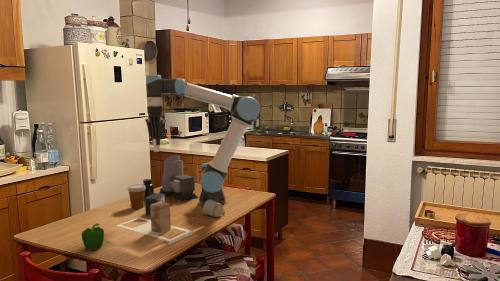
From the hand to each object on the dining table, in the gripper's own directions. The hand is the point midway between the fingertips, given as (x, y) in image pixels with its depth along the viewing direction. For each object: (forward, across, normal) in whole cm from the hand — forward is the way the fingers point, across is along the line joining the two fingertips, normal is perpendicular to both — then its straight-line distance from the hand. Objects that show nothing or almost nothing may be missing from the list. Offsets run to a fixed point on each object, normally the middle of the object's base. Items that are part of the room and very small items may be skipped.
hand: (156, 151), depth 196 cm
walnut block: (+31, +24, -21) cm, 44 cm away
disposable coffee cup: (+33, -16, -1) cm, 36 cm away
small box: (+33, +2, -5) cm, 33 cm away
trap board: (+32, +19, -21) cm, 43 cm away
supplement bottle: (+33, -23, +13) cm, 42 cm away
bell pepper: (+33, +13, -47) cm, 59 cm away
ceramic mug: (+33, +28, +12) cm, 45 cm away
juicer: (+33, -16, +30) cm, 47 cm away
